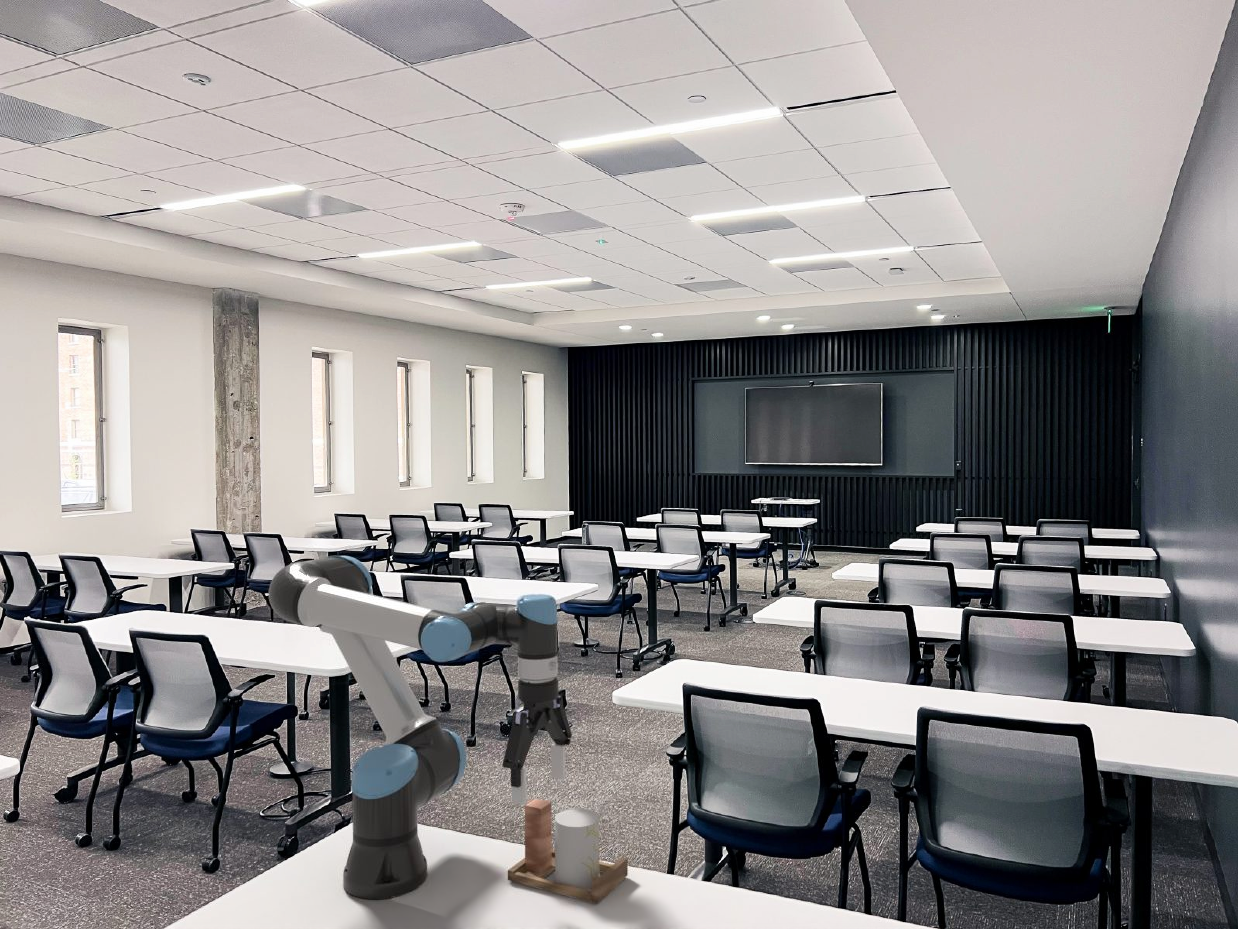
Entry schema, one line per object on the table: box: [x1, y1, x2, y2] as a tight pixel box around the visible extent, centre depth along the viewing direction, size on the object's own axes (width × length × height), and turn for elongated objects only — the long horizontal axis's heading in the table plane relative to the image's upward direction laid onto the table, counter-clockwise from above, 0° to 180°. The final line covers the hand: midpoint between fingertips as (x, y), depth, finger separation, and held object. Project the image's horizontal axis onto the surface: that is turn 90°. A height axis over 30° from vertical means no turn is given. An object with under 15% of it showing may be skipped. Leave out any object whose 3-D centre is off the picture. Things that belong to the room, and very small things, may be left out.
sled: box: [507, 798, 629, 904], centre depth 166 cm, size 19×12×13 cm, turn 62°
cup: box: [554, 808, 600, 891], centre depth 165 cm, size 8×8×12 cm
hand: (539, 790), depth 169 cm, fingers open, 13 cm apart
